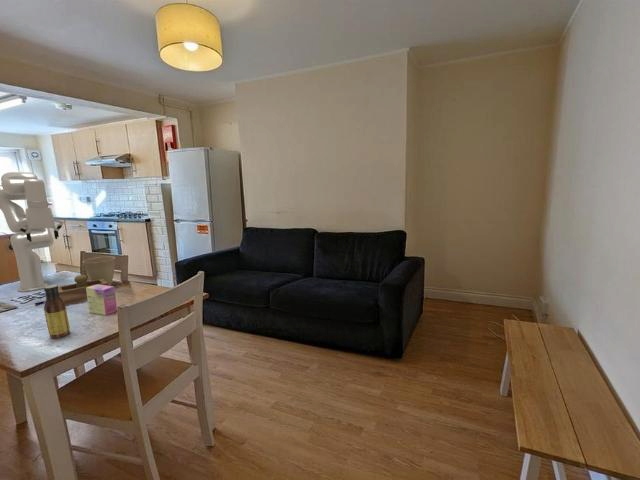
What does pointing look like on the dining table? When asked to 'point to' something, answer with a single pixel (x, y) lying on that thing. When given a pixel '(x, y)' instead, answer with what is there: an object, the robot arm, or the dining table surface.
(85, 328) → the dining table surface
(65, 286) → the walnut well caddy
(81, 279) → the olive brown gourd shape
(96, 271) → the plant pot
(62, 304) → the sauce bottle
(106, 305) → the box
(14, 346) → the dining table surface
